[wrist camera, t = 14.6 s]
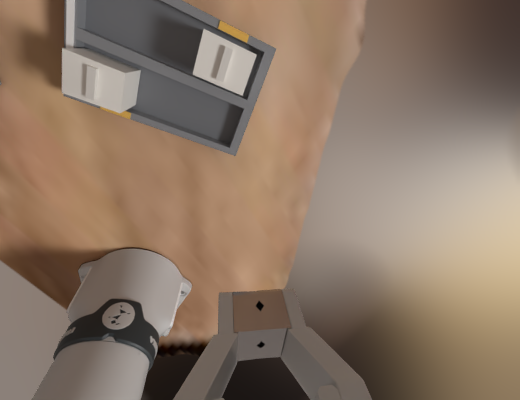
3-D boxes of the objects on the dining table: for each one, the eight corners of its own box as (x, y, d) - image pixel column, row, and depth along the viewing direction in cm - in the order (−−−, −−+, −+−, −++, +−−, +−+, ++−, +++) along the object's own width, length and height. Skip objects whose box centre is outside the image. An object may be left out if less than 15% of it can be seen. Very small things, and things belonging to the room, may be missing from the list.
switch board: (235, 149, 32) (235, 156, 30) (76, 92, 27) (62, 95, 25) (272, 48, 27) (276, 48, 25) (81, -49, 21) (64, -60, 19)
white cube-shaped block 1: (135, 104, 27) (118, 114, 23) (86, 86, 26) (58, 93, 22) (140, 69, 26) (123, 73, 21) (88, 48, 24) (58, 48, 20)
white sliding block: (240, 89, 28) (242, 96, 23) (198, 71, 26) (191, 74, 22) (253, 54, 26) (257, 54, 22) (208, 32, 24) (203, 28, 20)
